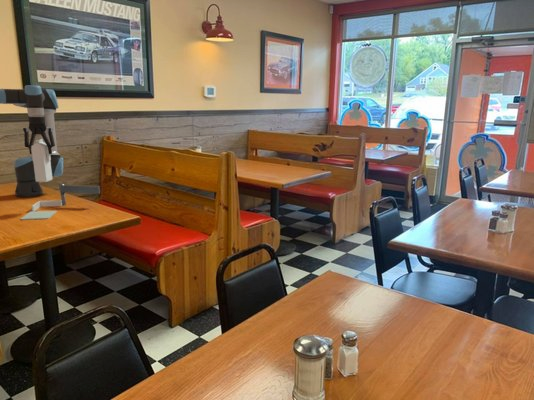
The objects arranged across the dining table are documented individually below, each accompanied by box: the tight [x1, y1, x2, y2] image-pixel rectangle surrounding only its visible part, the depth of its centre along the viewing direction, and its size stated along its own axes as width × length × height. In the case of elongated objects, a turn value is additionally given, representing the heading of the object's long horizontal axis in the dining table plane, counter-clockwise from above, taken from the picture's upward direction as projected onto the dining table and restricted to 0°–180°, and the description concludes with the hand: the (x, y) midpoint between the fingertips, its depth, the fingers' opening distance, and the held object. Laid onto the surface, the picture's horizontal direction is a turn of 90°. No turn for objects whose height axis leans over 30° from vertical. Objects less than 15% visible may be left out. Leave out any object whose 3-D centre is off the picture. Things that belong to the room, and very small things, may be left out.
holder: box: [30, 193, 67, 212], centre depth 227 cm, size 14×14×7 cm
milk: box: [31, 138, 53, 183], centre depth 218 cm, size 6×6×22 cm
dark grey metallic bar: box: [58, 183, 101, 195], centre depth 231 cm, size 23×3×5 cm, turn 85°
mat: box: [20, 210, 58, 221], centre depth 213 cm, size 13×13×1 cm
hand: (41, 160), depth 218 cm, fingers closed on milk, 7 cm apart
